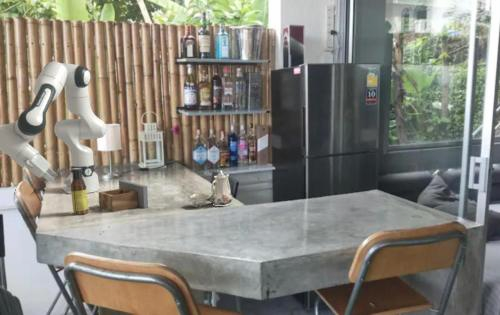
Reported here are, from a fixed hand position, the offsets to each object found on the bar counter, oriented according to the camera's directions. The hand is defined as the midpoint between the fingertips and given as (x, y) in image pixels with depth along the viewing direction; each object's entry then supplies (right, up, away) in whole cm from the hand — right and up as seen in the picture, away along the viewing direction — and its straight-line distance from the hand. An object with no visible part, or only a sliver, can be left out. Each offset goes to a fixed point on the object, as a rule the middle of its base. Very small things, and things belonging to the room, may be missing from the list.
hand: (54, 178), depth 182 cm
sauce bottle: (+9, -16, +5) cm, 19 cm away
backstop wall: (+28, -13, +21) cm, 37 cm away
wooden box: (+22, -14, +16) cm, 31 cm away
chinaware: (+67, -13, +21) cm, 71 cm away
